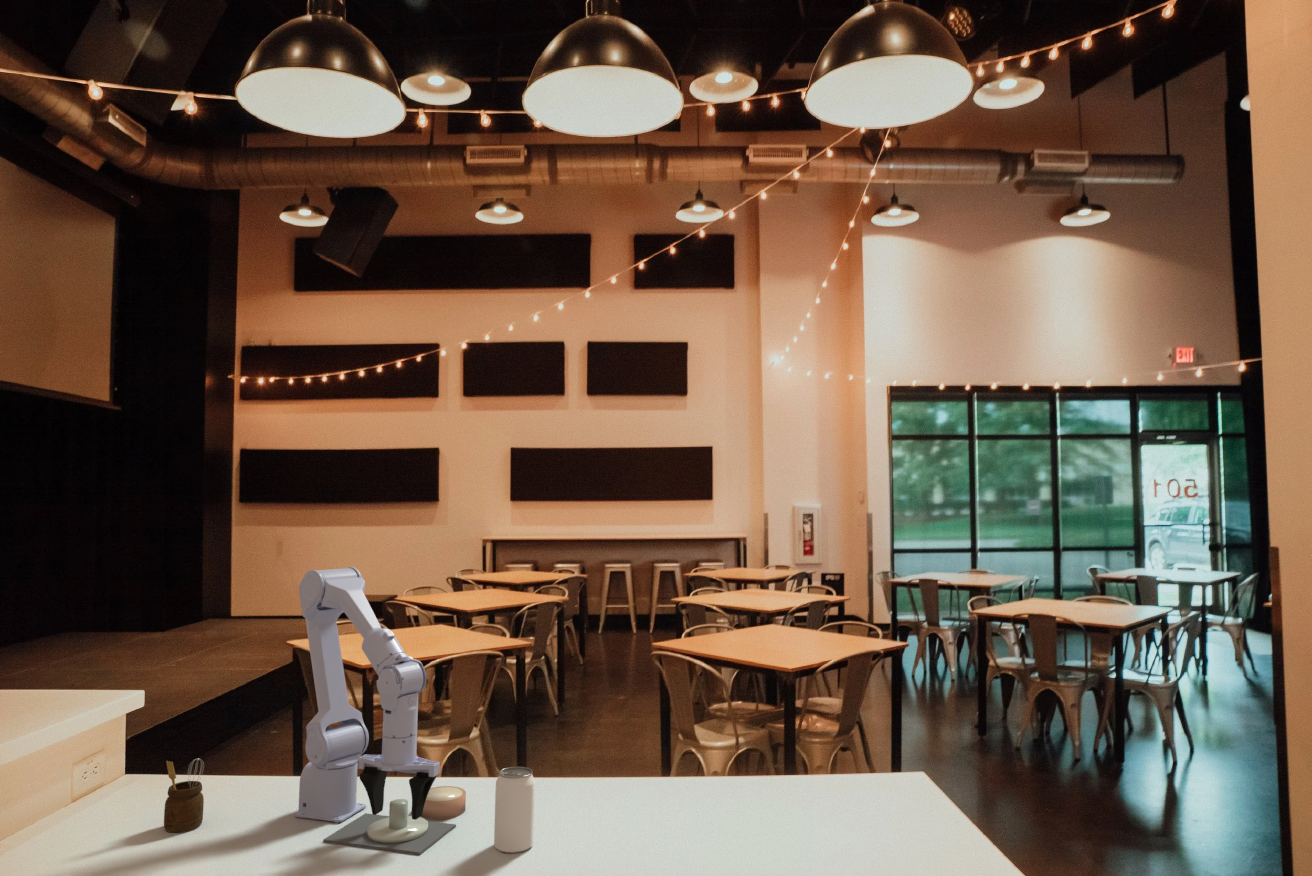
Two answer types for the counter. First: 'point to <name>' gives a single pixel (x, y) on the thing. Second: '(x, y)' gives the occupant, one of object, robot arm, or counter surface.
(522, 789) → the can
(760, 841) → the counter surface
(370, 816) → the mat
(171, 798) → the utensil holder
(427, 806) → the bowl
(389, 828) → the lid
